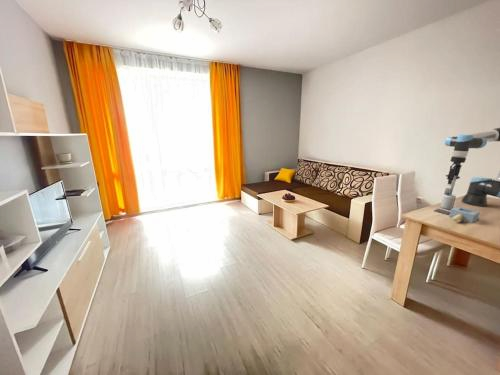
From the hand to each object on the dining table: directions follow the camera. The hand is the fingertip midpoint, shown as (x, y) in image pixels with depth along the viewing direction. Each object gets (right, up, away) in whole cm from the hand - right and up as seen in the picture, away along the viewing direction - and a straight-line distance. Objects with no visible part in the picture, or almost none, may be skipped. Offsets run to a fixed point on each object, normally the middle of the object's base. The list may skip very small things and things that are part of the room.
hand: (449, 187), depth 153 cm
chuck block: (+1, -23, -7) cm, 24 cm away
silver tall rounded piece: (0, -5, +2) cm, 6 cm away
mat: (0, -19, +6) cm, 20 cm away
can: (+10, -17, +13) cm, 24 cm away
